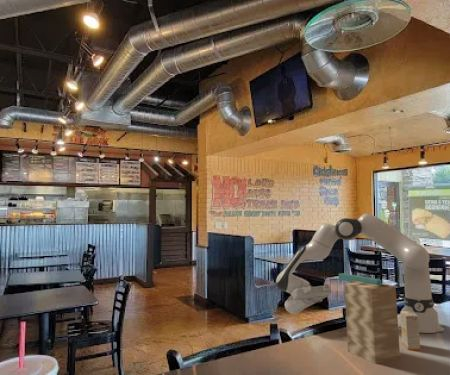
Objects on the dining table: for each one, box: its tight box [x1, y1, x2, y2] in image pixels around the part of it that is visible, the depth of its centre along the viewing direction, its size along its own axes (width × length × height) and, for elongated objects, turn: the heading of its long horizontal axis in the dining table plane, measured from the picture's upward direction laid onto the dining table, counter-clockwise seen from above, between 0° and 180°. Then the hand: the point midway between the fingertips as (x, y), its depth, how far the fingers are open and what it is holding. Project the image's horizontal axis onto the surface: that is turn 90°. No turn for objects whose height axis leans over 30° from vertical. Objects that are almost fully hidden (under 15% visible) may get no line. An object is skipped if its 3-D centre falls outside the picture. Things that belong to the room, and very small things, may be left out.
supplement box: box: [400, 310, 421, 351], centre depth 145 cm, size 8×5×13 cm, turn 168°
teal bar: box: [338, 272, 383, 287], centre depth 145 cm, size 21×2×2 cm, turn 23°
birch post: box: [344, 281, 401, 364], centre depth 139 cm, size 14×12×27 cm
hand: (319, 286), depth 167 cm, fingers open, 8 cm apart
